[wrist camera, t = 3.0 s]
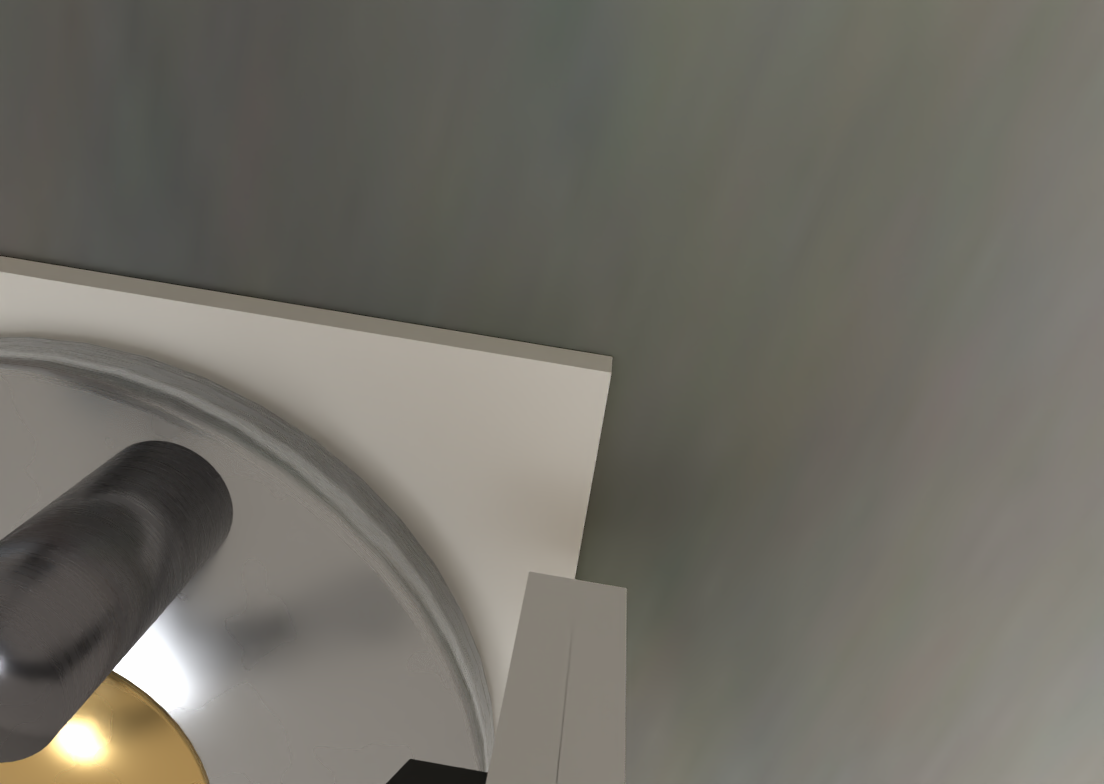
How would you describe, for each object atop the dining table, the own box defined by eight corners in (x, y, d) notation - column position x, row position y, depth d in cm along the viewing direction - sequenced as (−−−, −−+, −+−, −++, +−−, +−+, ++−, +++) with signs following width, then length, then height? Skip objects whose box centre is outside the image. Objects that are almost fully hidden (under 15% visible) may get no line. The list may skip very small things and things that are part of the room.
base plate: (-348, 198, 18) (-601, 231, 15) (612, 356, 18) (607, 434, 14) (-201, 903, 25) (-346, 1049, 21) (492, 1033, 25) (467, 1206, 21)
